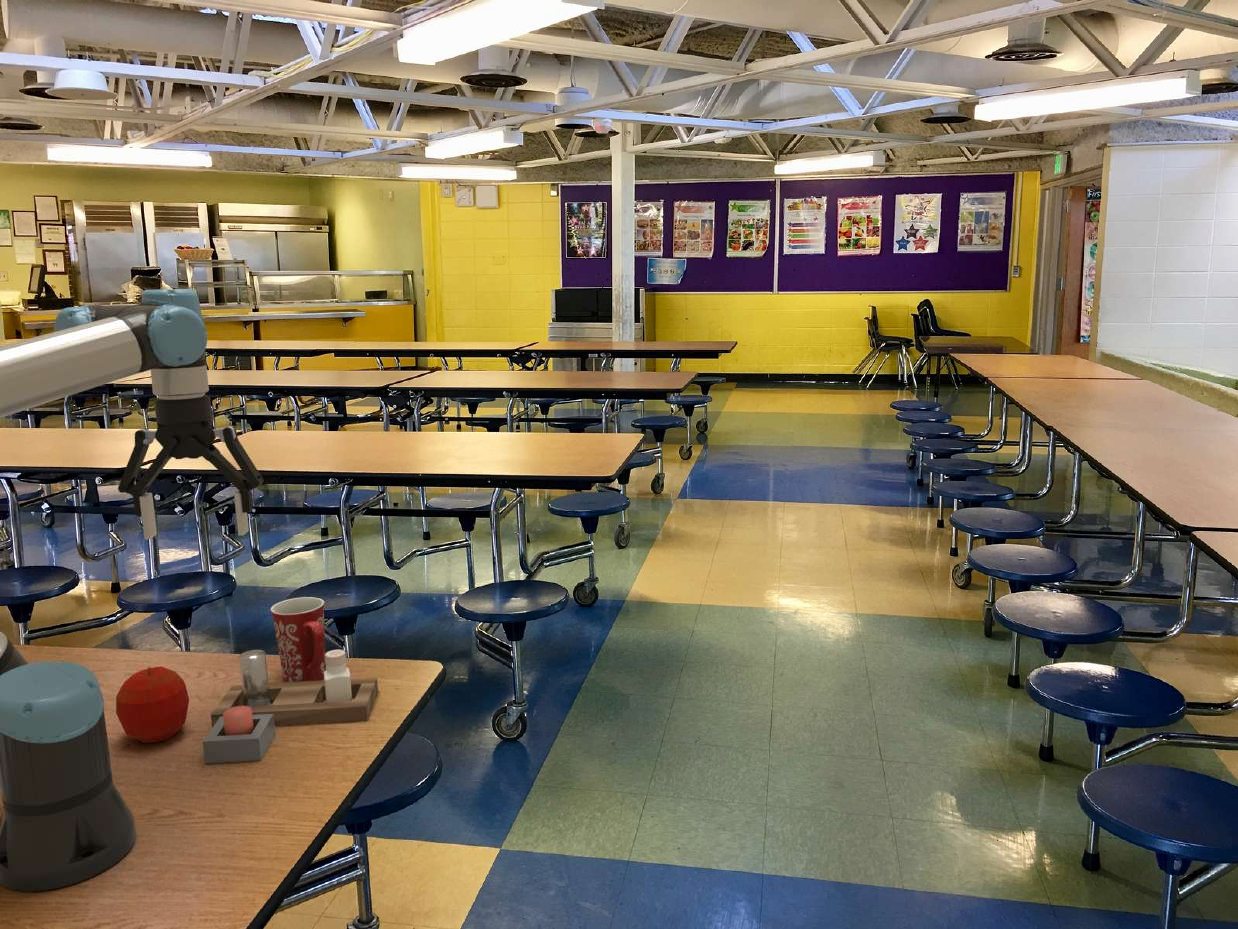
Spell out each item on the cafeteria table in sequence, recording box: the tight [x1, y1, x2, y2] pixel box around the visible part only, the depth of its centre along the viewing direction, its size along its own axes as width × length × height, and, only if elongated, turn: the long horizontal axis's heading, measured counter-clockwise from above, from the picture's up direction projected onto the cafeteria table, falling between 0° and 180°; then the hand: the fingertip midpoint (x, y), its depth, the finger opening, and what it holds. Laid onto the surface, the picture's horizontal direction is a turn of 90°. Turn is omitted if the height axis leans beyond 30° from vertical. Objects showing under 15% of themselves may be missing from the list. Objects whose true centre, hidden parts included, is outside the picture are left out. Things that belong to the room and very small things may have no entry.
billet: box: [238, 649, 272, 707], centre depth 154 cm, size 4×4×10 cm
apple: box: [115, 666, 190, 744], centre depth 146 cm, size 10×10×12 cm
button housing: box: [202, 714, 276, 765], centre depth 143 cm, size 8×8×4 cm
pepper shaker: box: [323, 649, 353, 702], centre depth 155 cm, size 4×4×10 cm
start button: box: [223, 705, 254, 736], centre depth 142 cm, size 4×4×5 cm
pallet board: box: [210, 677, 379, 729], centre depth 155 cm, size 11×24×2 cm, turn 95°
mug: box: [270, 596, 327, 683], centre depth 166 cm, size 13×9×14 cm
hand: (197, 535), depth 143 cm, fingers open, 13 cm apart
